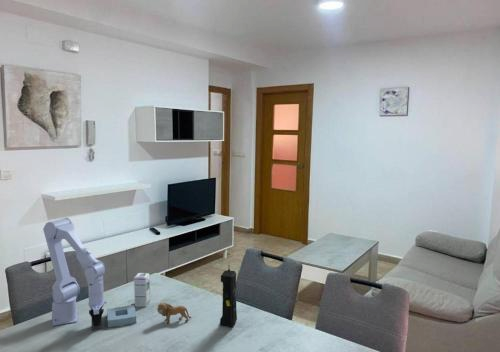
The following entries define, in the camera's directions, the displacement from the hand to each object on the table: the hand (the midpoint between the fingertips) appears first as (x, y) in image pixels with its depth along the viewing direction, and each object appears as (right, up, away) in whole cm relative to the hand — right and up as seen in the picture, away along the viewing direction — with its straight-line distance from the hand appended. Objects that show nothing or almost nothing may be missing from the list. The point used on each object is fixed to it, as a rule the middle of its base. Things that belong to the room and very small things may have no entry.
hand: (96, 323), depth 160 cm
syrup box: (+13, 0, +22) cm, 26 cm away
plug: (0, -2, 0) cm, 2 cm away
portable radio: (+55, -3, +6) cm, 55 cm away
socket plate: (+8, -1, +8) cm, 11 cm away
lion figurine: (+31, -2, +7) cm, 32 cm away
